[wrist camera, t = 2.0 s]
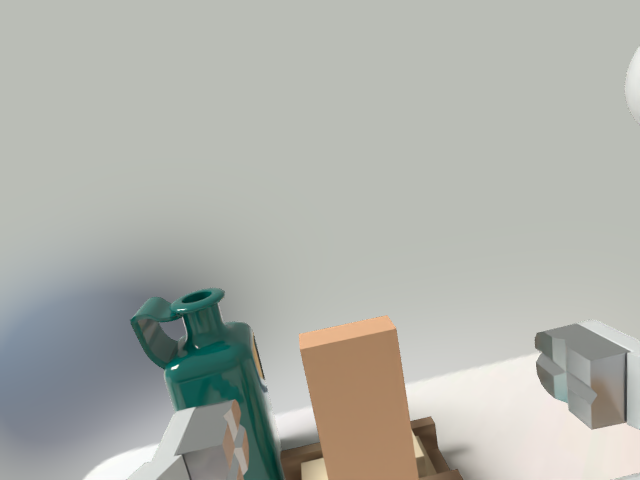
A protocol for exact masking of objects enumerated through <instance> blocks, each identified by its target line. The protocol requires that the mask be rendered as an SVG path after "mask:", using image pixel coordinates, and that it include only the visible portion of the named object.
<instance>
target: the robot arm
mask: <svg viewBox="0 0 640 480" xmlns="http://www.w3.org/2000/svg"><path fill="white" fill-rule="evenodd" d="M625 99H626V103H627V106H628V109H629V111H630V113H631V115H632V116H633V118H634V119H635V120H636V122H637V123H638V124H639V125H640V46H639V47H638V49H637V51H636V52H635V54H634V56H633V58H632V60H631V62H630V65H629V67H628V71H627V74H626V79H625ZM535 348H536V349H537V350H538V351H539V352H540V353H541V355H540V356H539V358H538V360H537V362H536V367H537V375H538V377H539V379H540V381H541V384H542V385H543V387H544V388H545V389H546V391H547V392H548V393H549V394H550V395H552V396H553V397H554V398H555V399H558V400H561V401H564V402H566V403H568V408H569V411H570V412H571V413H573V414H574V415H575V416H576V417H577V418H579V419H580V420H581V421H582V422H583V423H584V424H586V425H587V426H588V427H589V428H590V429H597V428H602V427H607V426H612V425H617V424H621V423H626V422H627V425H630V426H632V427H634V428H636V429H639V430H640V341H639V340H637V339H635V338H633V337H631V336H629V335H627V334H625V333H623V332H620V331H619V330H616V329H614V328H612V327H610V326H608V325H606V324H604V323H602V322H599V321H598V320H586V321H582V322H579V323H575V324H572V325H568V326H564V327H560V328H556V329H552V330H547V331H544V332H539V333H537V334H536V337H535ZM240 417H241V411H240V408H239V404H238V402H237V401H236V400H235V399H233V400H228V401H223V402H218V403H213V404H208V405H203V406H198V407H193V408H188V409H184V410H180V411H177V412H176V413H174V415H173V417H172V419H171V421H170V423H169V425H168V428H167V429H166V431H165V434H164V436H163V438H162V440H161V442H160V444H159V446H158V448H157V450H156V452H155V455H154V457H153V459H152V461H151V462H147V463H144V464H143V465H142V466H141V467H140V468H138V469H137V470H136V471H135V472H134V473H133V474H132V475H130V476H129V477H128V478H127V479H126V480H244V478H243V475H244V474H245V473H246V471H247V470H248V464H249V445H248V438H247V434H246V430H245V428H244V427H243V426H242V425H240V424H239V422H240ZM612 480H640V473H636V474H632V475H628V476H624V477H620V478H616V479H612Z"/></svg>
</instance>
